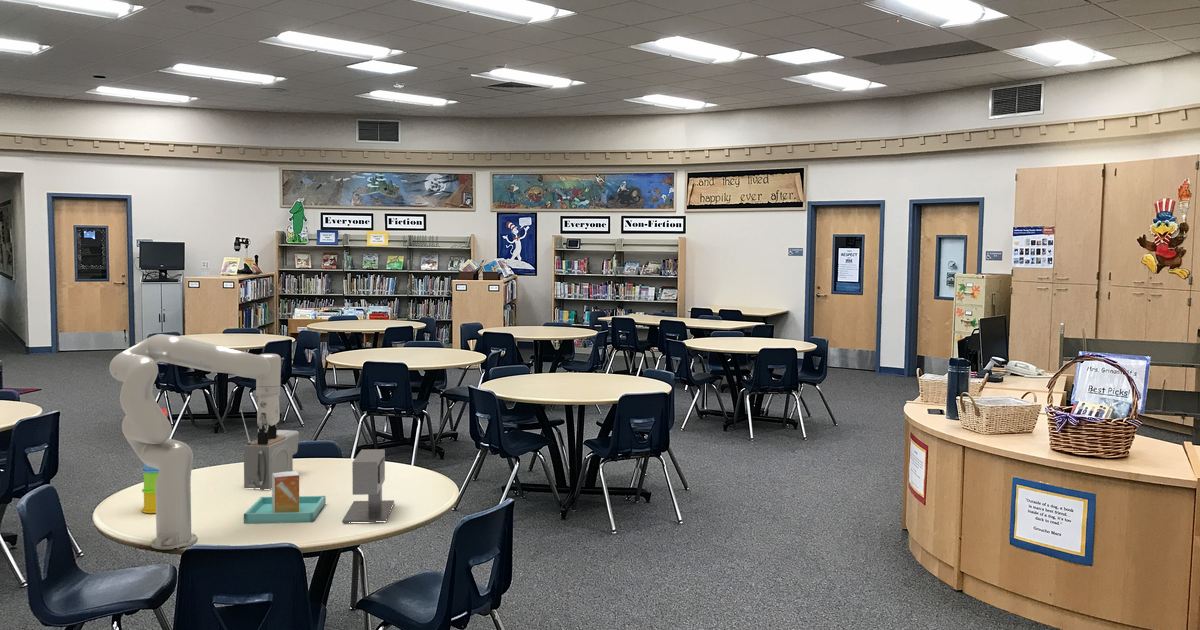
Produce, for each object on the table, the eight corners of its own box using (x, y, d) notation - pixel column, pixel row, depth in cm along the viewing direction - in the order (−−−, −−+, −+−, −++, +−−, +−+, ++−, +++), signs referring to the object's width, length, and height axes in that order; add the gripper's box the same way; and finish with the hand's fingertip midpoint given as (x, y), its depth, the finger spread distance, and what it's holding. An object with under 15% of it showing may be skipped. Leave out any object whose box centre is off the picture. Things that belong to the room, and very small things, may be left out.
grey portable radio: (300, 475, 333) (299, 401, 331) (268, 491, 310) (267, 411, 308) (272, 473, 335) (271, 399, 333) (238, 489, 311) (237, 410, 309)
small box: (274, 515, 279) (274, 477, 278) (272, 510, 284) (271, 472, 283) (299, 512, 283) (299, 474, 282) (296, 507, 288) (296, 470, 287)
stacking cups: (136, 514, 280) (134, 413, 277) (150, 505, 290) (148, 407, 288) (168, 514, 281) (166, 413, 278) (180, 505, 291) (178, 407, 288)
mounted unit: (385, 523, 275) (385, 463, 274) (342, 524, 273) (341, 463, 272) (394, 503, 297) (394, 447, 295) (354, 504, 295) (353, 448, 294)
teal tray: (312, 521, 275) (312, 512, 275) (243, 523, 272) (243, 514, 272) (325, 504, 295) (325, 495, 295) (261, 505, 292) (261, 496, 292)
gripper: (272, 394, 269) (271, 446, 270) (286, 387, 286) (285, 436, 287) (248, 394, 268) (247, 446, 269) (264, 387, 285) (263, 436, 286)
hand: (267, 441), depth 278 cm, fingers open, 9 cm apart
